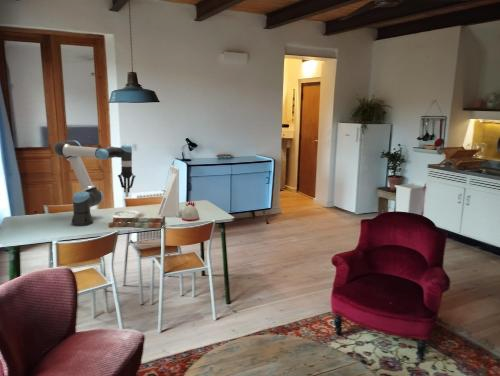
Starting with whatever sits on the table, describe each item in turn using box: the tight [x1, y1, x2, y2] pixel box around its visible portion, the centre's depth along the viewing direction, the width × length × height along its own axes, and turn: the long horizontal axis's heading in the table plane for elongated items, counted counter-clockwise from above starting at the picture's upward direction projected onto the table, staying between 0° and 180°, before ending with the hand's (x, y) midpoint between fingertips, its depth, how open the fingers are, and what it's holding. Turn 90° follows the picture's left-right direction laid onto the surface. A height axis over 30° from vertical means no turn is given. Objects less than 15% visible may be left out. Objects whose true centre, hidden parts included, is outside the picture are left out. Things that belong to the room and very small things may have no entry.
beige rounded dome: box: [181, 200, 200, 222], centre depth 327 cm, size 14×14×15 cm
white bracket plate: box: [156, 165, 180, 218], centre depth 334 cm, size 20×14×40 cm
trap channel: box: [107, 216, 166, 229], centre depth 307 cm, size 39×14×5 cm, turn 94°
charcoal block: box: [138, 219, 149, 223], centre depth 308 cm, size 7×7×4 cm
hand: (126, 196), depth 309 cm, fingers closed
